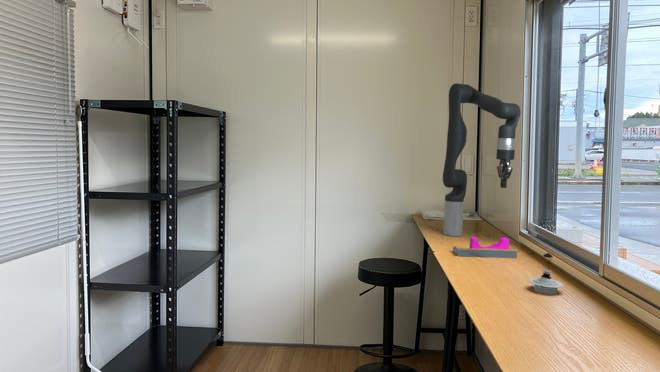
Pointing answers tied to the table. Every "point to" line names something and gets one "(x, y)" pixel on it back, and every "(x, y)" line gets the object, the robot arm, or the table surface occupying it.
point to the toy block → (501, 244)
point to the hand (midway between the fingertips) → (503, 187)
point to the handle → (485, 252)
